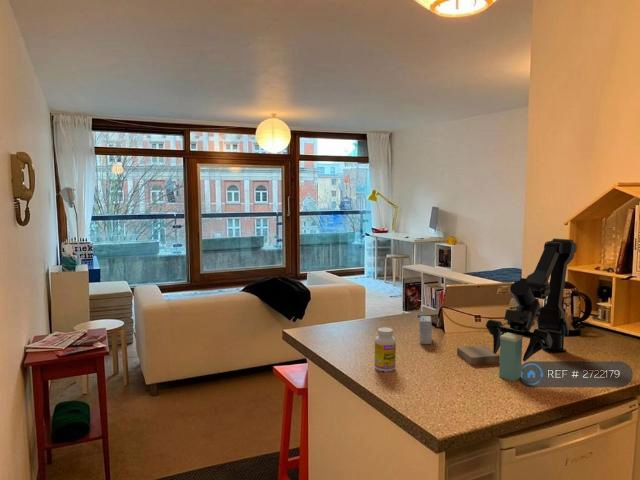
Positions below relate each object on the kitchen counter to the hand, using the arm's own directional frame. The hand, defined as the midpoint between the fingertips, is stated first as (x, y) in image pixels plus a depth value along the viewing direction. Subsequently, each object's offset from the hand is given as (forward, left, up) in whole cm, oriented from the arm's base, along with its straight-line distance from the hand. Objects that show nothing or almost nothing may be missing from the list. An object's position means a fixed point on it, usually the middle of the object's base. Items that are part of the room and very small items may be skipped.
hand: (508, 356), depth 140 cm
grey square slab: (+1, -17, -7) cm, 18 cm away
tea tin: (-1, -1, -7) cm, 7 cm away
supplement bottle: (+34, -15, -7) cm, 38 cm away
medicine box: (+11, -38, -7) cm, 40 cm away
